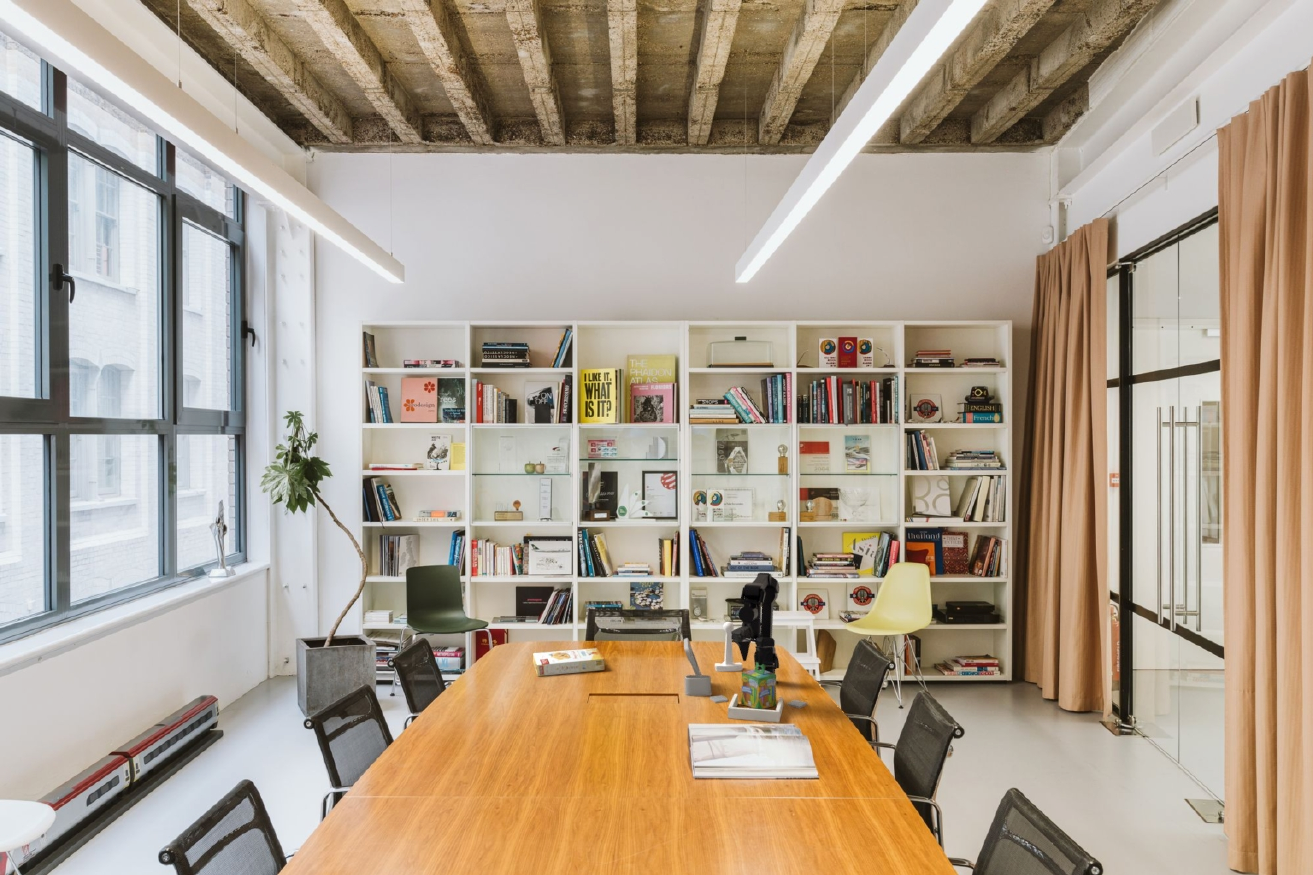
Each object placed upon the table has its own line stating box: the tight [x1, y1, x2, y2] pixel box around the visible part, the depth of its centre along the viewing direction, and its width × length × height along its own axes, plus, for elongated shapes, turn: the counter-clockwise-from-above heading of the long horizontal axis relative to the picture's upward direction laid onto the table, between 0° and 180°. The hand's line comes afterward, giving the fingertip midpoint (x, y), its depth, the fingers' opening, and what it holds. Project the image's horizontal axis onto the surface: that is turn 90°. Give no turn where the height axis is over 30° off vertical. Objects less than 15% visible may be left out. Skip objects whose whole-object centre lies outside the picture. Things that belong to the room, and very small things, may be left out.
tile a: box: [786, 699, 808, 709], centre depth 276 cm, size 5×5×1 cm
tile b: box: [709, 694, 729, 704], centre depth 282 cm, size 5×5×1 cm
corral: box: [727, 693, 784, 723], centre depth 269 cm, size 15×17×4 cm
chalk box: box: [740, 663, 777, 710], centre depth 276 cm, size 9×9×15 cm
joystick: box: [714, 621, 743, 673], centre depth 320 cm, size 11×8×20 cm
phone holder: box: [683, 637, 712, 697], centre depth 295 cm, size 17×10×18 cm, turn 178°
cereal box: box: [532, 647, 606, 677], centre depth 325 cm, size 20×6×28 cm
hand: (752, 663), depth 279 cm, fingers open, 9 cm apart
